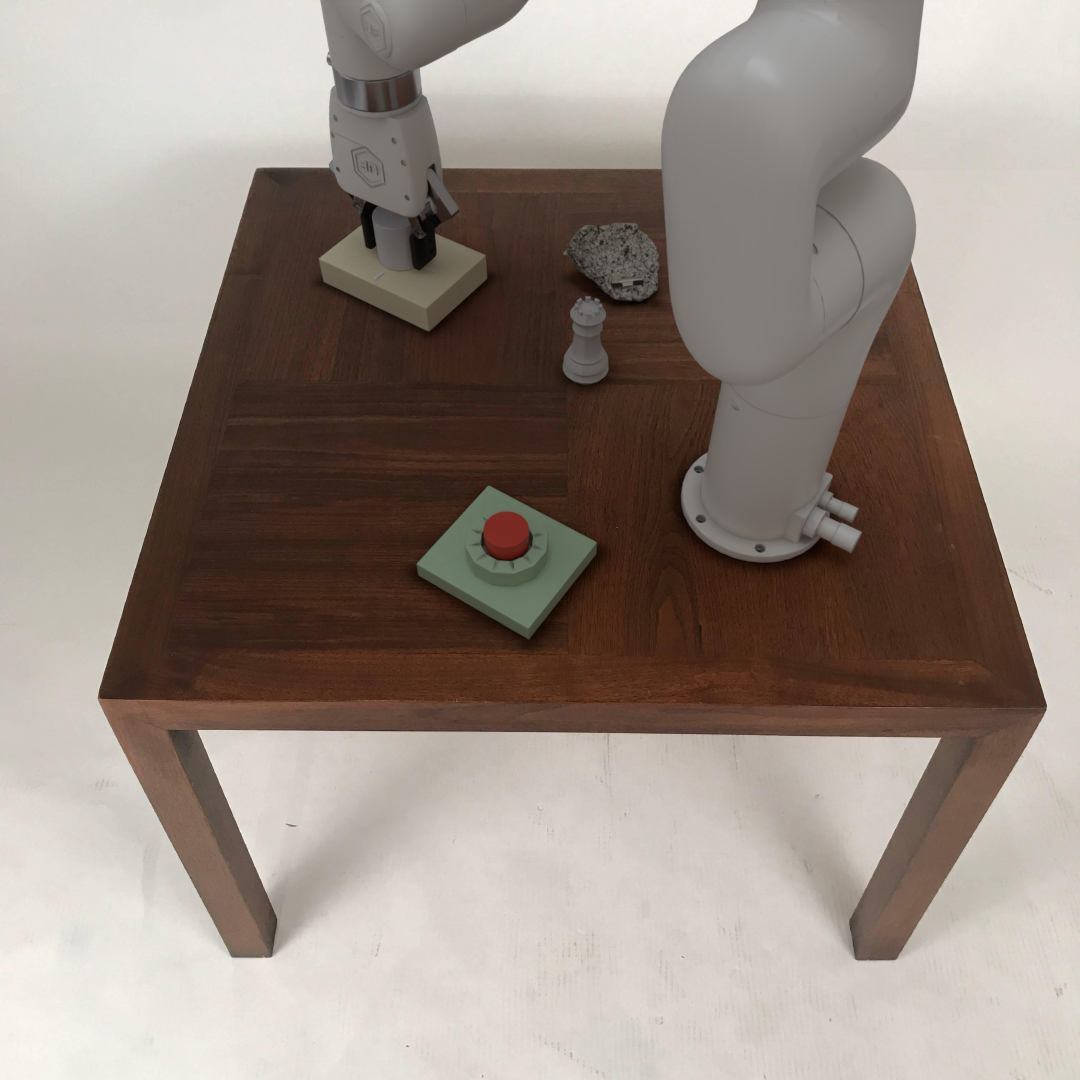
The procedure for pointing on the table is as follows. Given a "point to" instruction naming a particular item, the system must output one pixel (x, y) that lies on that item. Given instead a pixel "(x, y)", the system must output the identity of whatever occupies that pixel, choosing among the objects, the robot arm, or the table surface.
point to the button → (506, 535)
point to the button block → (507, 564)
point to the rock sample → (617, 259)
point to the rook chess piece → (586, 343)
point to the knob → (392, 239)
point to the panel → (405, 279)
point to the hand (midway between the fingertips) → (401, 250)
